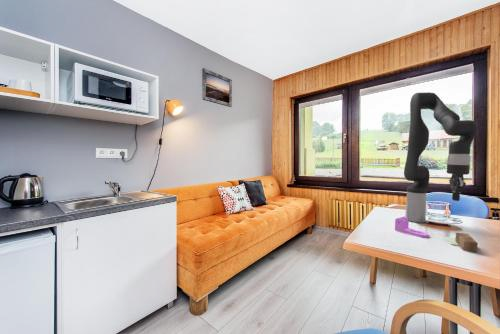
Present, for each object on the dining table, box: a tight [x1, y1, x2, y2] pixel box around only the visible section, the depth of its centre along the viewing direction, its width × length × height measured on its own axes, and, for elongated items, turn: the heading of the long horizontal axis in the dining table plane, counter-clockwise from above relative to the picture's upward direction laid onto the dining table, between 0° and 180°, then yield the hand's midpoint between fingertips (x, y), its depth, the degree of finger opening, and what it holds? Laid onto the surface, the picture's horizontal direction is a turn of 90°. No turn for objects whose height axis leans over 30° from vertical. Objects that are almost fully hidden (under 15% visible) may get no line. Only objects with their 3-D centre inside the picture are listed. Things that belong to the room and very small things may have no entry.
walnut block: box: [454, 232, 479, 253], centre depth 87 cm, size 4×4×9 cm
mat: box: [443, 236, 481, 250], centre depth 92 cm, size 9×10×1 cm
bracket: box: [394, 216, 430, 239], centre depth 104 cm, size 13×6×7 cm, turn 30°
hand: (455, 200), depth 98 cm, fingers closed
